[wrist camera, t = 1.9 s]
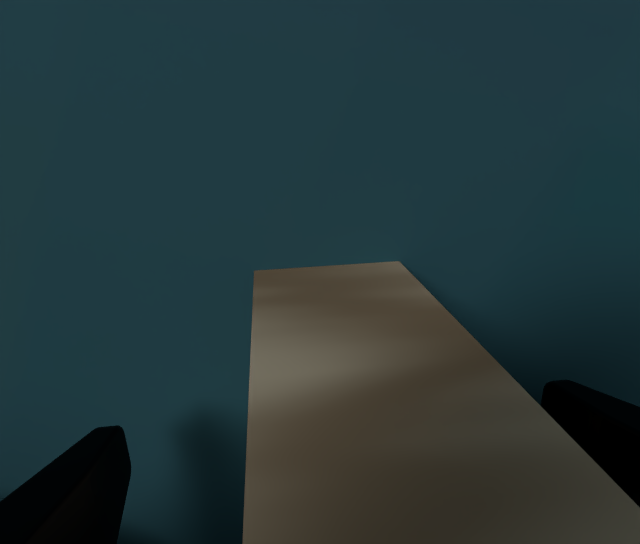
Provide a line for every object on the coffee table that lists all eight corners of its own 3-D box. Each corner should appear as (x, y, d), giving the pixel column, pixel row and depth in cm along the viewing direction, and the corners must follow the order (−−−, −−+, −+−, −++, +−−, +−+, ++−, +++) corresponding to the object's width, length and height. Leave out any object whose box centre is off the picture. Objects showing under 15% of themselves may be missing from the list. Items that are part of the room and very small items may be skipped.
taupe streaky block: (399, 260, 9) (1032, 907, 2) (392, 454, 11) (691, 1214, 3) (254, 271, 9) (215, 1140, 1) (270, 468, 10) (293, 1351, 3)
